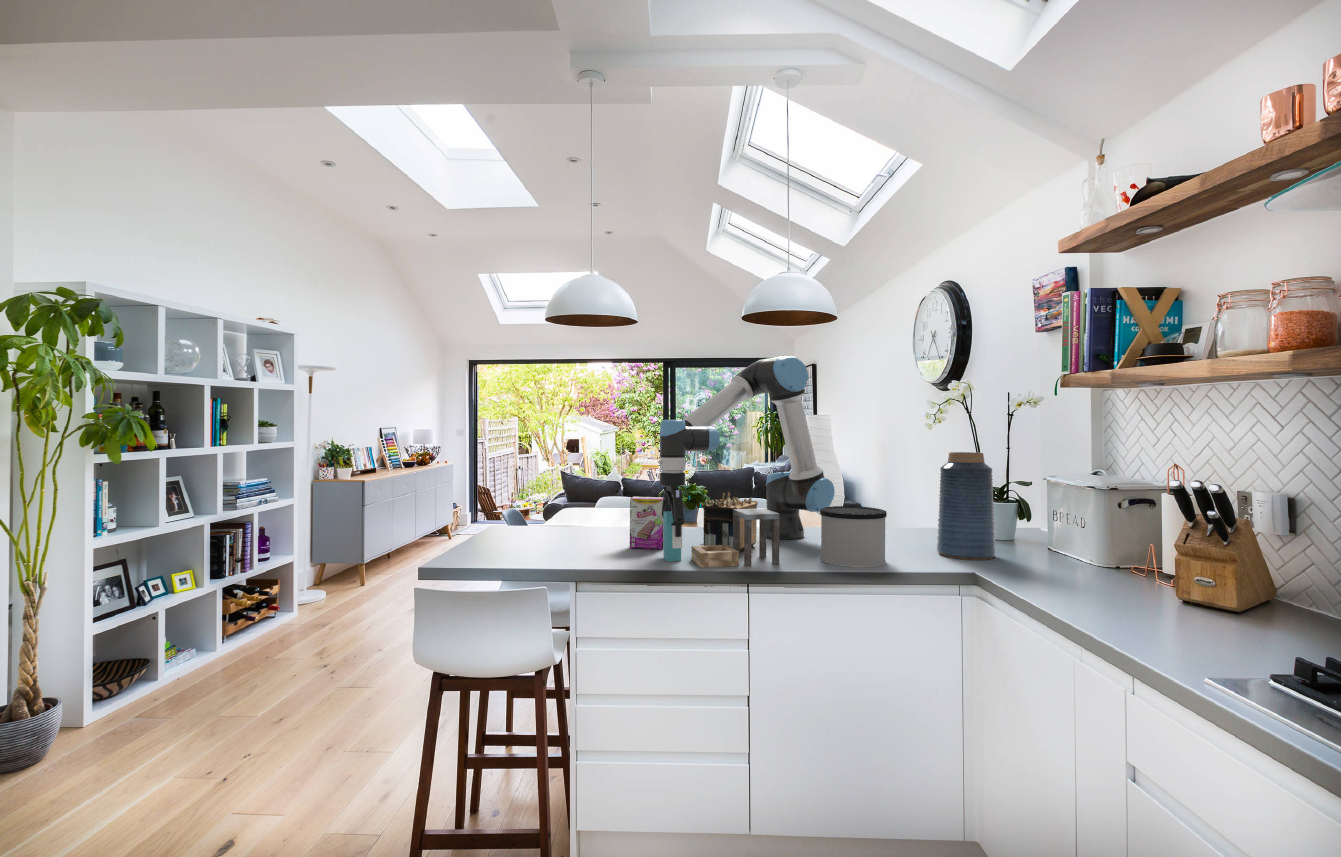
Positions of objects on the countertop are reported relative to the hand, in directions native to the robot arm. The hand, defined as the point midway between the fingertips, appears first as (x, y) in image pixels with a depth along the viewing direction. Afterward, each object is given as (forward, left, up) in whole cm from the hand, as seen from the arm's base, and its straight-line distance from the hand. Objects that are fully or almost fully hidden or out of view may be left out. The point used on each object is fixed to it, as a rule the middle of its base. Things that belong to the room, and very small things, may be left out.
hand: (672, 543), depth 189 cm
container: (-52, +12, -5) cm, 54 cm away
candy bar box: (+4, -19, -5) cm, 20 cm away
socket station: (-17, +7, -5) cm, 19 cm away
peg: (0, 0, -5) cm, 5 cm away
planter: (-22, -12, -5) cm, 25 cm away
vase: (-90, +12, -5) cm, 91 cm away
